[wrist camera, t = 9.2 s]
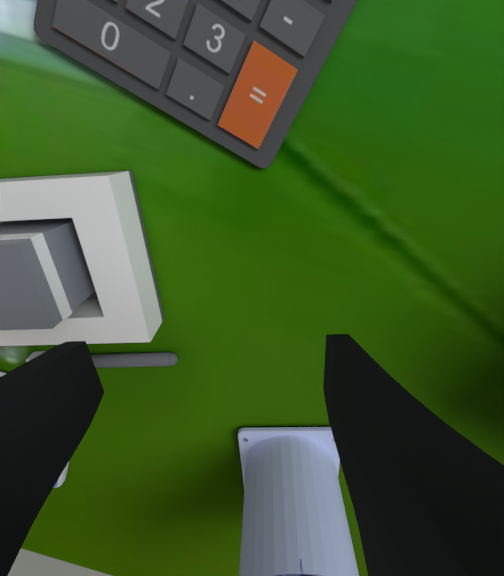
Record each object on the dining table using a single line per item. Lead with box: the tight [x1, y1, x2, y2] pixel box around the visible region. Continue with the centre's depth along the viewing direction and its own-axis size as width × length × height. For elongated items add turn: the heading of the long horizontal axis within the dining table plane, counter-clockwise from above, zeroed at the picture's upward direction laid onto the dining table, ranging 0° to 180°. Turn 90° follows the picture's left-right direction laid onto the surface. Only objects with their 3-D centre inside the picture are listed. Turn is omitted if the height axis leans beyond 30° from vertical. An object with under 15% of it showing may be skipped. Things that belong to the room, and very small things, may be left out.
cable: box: [26, 351, 177, 368], centre depth 21 cm, size 1×10×1 cm, turn 93°
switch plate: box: [0, 170, 164, 346], centre depth 17 cm, size 9×14×3 cm, turn 94°
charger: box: [0, 218, 96, 330], centre depth 15 cm, size 4×4×5 cm
